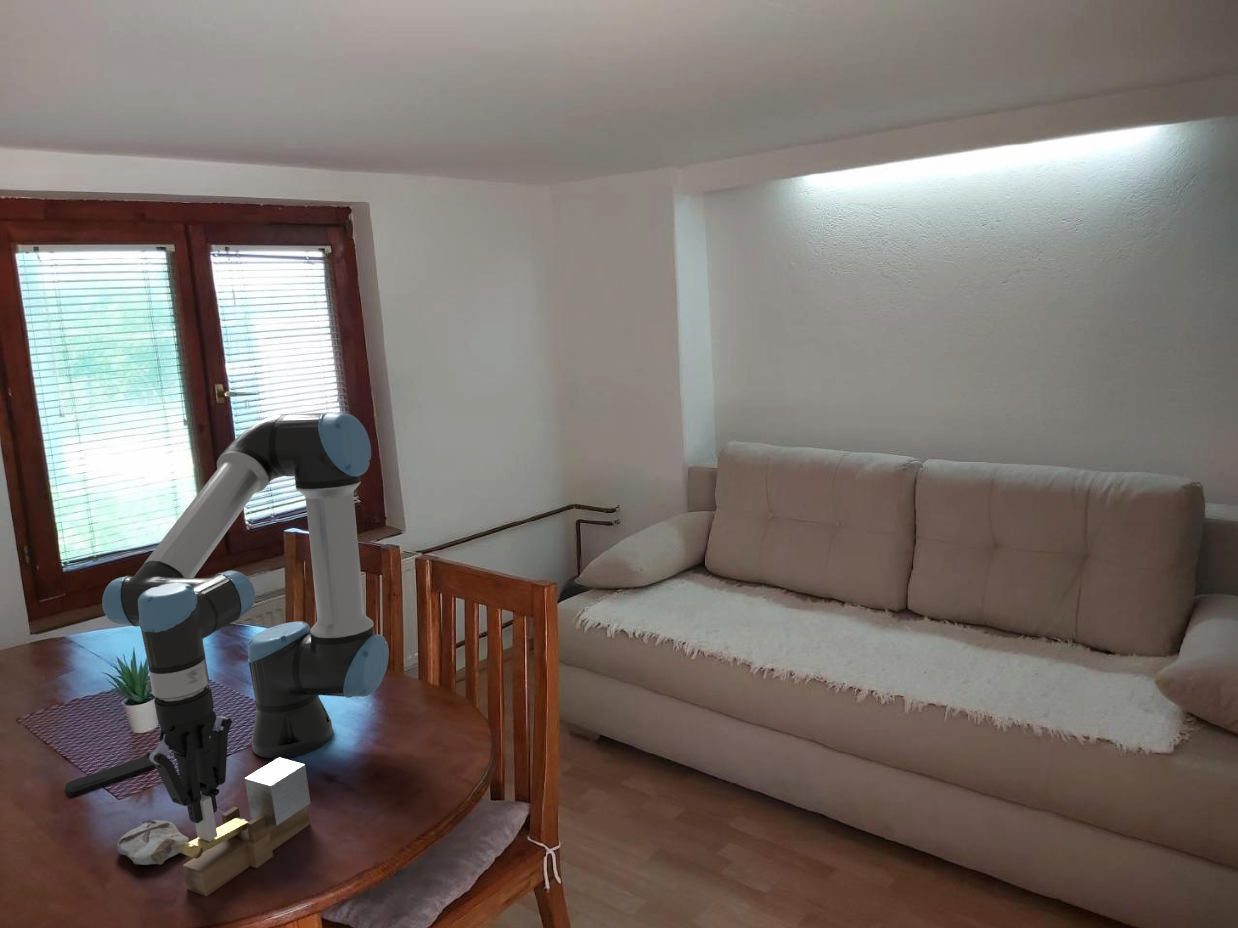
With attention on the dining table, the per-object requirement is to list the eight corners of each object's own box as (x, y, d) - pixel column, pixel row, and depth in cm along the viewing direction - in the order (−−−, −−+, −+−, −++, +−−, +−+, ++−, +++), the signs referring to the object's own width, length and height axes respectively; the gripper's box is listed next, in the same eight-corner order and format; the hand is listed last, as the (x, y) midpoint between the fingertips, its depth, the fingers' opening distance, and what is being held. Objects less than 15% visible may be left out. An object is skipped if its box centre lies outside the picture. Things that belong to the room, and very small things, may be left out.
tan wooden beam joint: (181, 886, 139) (173, 843, 138) (285, 816, 156) (280, 777, 155) (212, 898, 135) (205, 855, 134) (316, 825, 153) (310, 786, 151)
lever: (238, 822, 146) (177, 854, 136) (237, 812, 145) (177, 844, 136) (255, 828, 144) (195, 860, 134) (254, 818, 144) (194, 850, 134)
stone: (108, 852, 149) (104, 834, 149) (164, 824, 156) (161, 807, 156) (142, 878, 142) (139, 859, 141) (199, 847, 149) (196, 829, 148)
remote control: (152, 762, 180) (64, 789, 170) (151, 753, 179) (63, 780, 170) (158, 771, 176) (69, 799, 167) (157, 762, 176) (67, 790, 166)
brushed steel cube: (250, 817, 149) (244, 777, 148) (285, 795, 155) (279, 757, 154) (276, 825, 146) (270, 785, 145) (310, 803, 152) (304, 764, 151)
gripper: (157, 714, 126) (185, 867, 131) (236, 676, 137) (259, 818, 142) (124, 705, 130) (152, 855, 135) (203, 669, 141) (227, 808, 146)
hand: (207, 836), depth 138 cm, fingers closed
